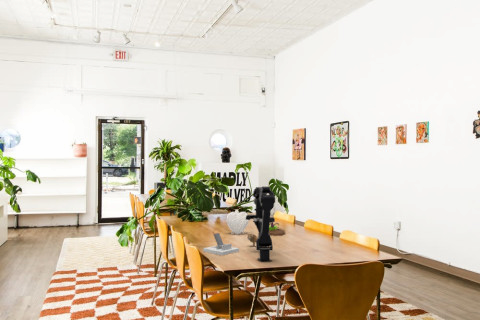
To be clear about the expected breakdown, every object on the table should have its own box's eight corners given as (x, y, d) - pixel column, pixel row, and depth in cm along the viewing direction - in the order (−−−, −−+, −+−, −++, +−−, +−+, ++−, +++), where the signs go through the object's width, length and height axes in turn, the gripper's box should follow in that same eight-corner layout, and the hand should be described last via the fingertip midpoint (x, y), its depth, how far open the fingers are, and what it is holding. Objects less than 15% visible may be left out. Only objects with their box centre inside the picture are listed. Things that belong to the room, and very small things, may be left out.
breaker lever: (225, 246, 280) (218, 229, 284) (220, 247, 276) (213, 230, 280) (223, 248, 281) (216, 231, 285) (218, 249, 278) (211, 232, 281)
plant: (287, 232, 355) (288, 218, 355) (282, 236, 336) (282, 222, 336) (263, 231, 361) (263, 217, 361) (257, 235, 342) (257, 220, 342)
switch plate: (239, 251, 280) (239, 243, 280) (222, 255, 268) (222, 247, 268) (220, 247, 290) (220, 240, 290) (203, 251, 278) (203, 243, 278)
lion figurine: (247, 247, 294) (247, 233, 294) (247, 245, 299) (247, 232, 299) (269, 247, 294) (269, 234, 294) (268, 245, 300) (269, 232, 300)
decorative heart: (227, 235, 335) (228, 213, 334) (224, 233, 345) (224, 211, 345) (250, 235, 340) (251, 212, 340) (246, 232, 350) (246, 210, 350)
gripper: (280, 207, 276) (279, 232, 276) (256, 205, 288) (256, 229, 288) (269, 209, 267) (269, 234, 268) (245, 206, 279) (245, 231, 280)
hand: (259, 232), depth 276 cm, fingers closed
